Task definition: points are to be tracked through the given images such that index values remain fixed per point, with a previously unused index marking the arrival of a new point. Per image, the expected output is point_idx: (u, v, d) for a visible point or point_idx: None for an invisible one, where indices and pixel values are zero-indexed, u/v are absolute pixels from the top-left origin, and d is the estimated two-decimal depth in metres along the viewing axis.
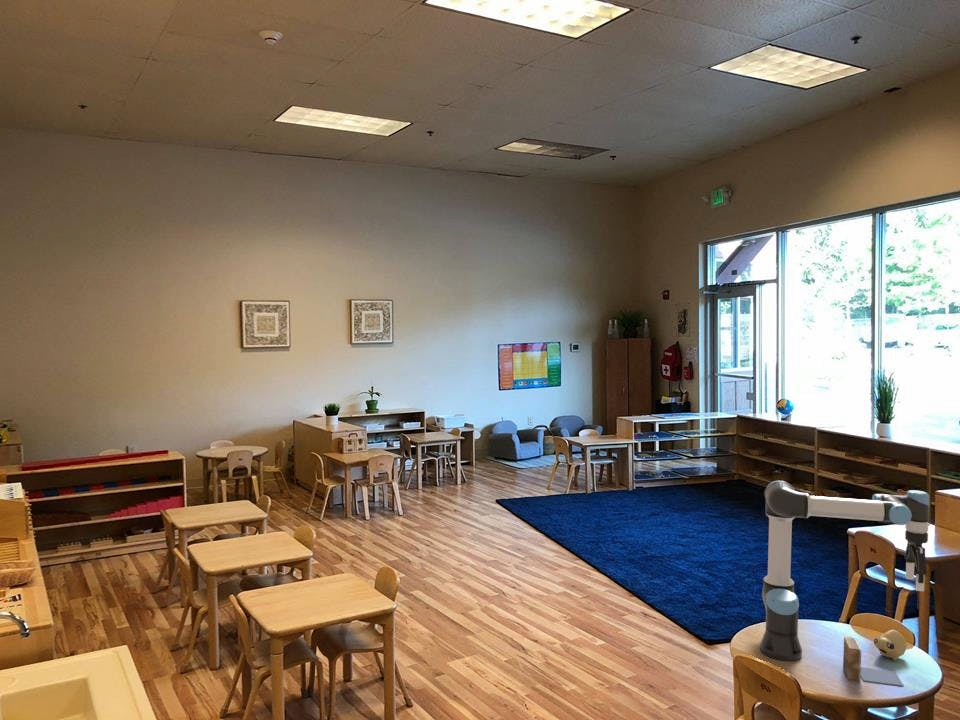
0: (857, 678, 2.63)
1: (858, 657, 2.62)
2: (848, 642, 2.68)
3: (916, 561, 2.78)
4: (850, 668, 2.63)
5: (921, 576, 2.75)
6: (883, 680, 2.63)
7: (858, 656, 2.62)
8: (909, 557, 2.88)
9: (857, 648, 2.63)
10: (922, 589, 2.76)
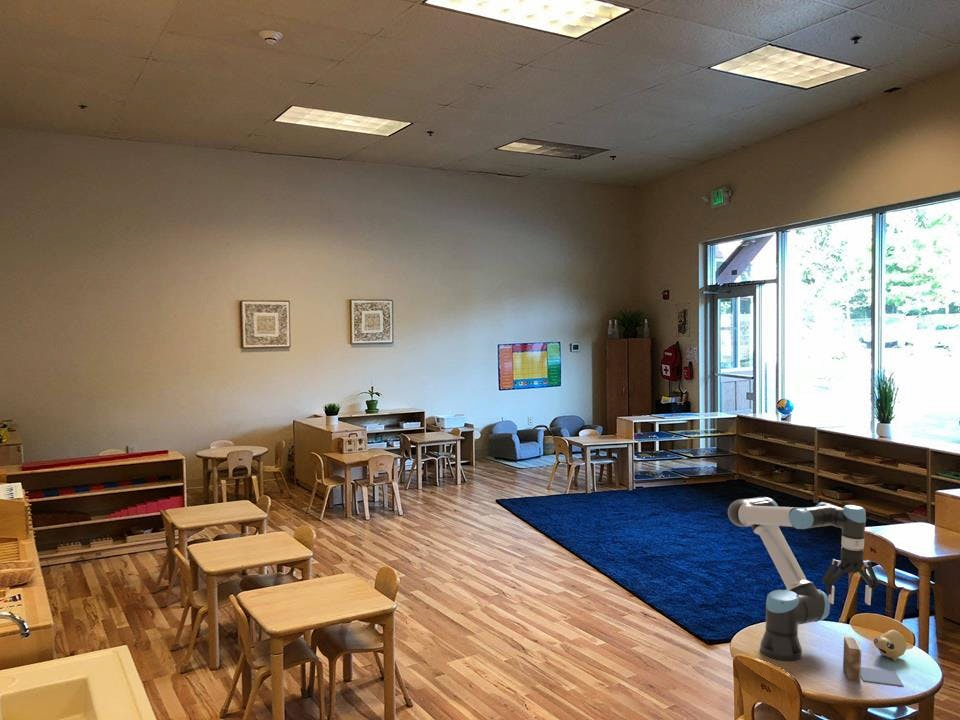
0: (857, 678, 2.63)
1: (858, 657, 2.62)
2: (848, 642, 2.68)
3: None
4: (850, 668, 2.63)
5: (827, 586, 2.72)
6: (883, 680, 2.63)
7: (858, 656, 2.62)
8: (864, 579, 2.72)
9: (857, 648, 2.63)
10: (830, 601, 2.71)
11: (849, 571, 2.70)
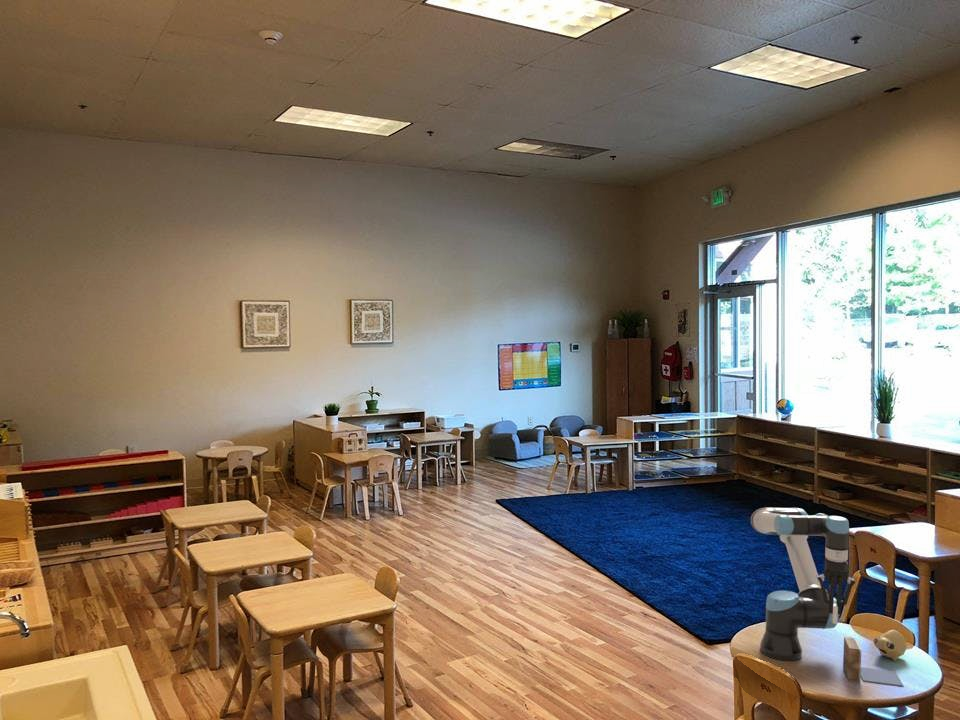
0: (857, 678, 2.63)
1: (858, 657, 2.62)
2: (848, 642, 2.68)
3: (829, 590, 2.70)
4: (850, 668, 2.63)
5: (829, 605, 2.69)
6: (883, 680, 2.63)
7: (858, 656, 2.62)
8: None
9: (857, 648, 2.63)
10: (832, 620, 2.68)
11: None
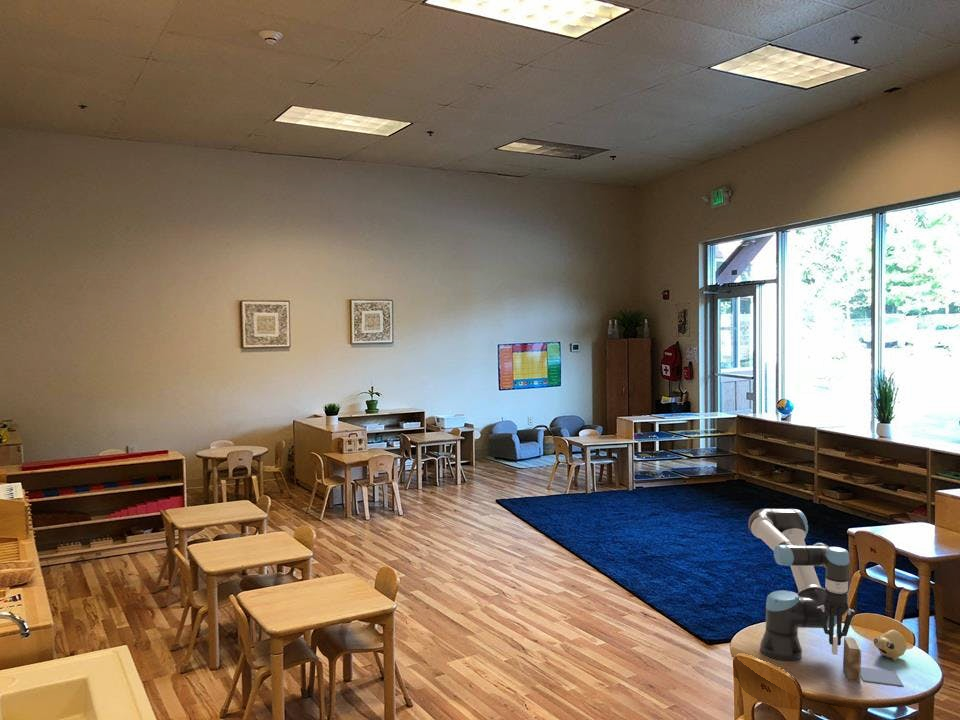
0: (857, 678, 2.63)
1: (858, 657, 2.62)
2: (848, 642, 2.68)
3: (829, 621, 2.70)
4: (850, 668, 2.63)
5: (829, 636, 2.69)
6: (883, 680, 2.63)
7: (858, 656, 2.62)
8: None
9: (857, 648, 2.63)
10: (832, 651, 2.69)
11: None
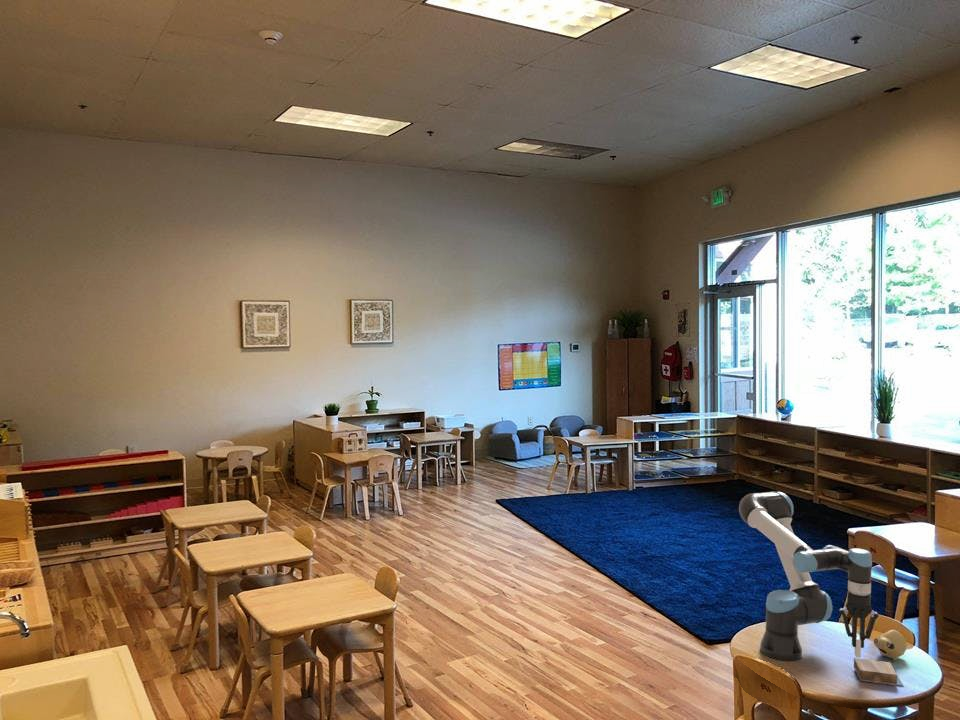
0: (863, 678, 2.62)
1: (887, 681, 2.60)
2: None
3: (852, 623, 2.68)
4: (873, 673, 2.61)
5: (852, 638, 2.67)
6: None
7: (888, 682, 2.60)
8: None
9: None
10: (855, 654, 2.66)
11: None
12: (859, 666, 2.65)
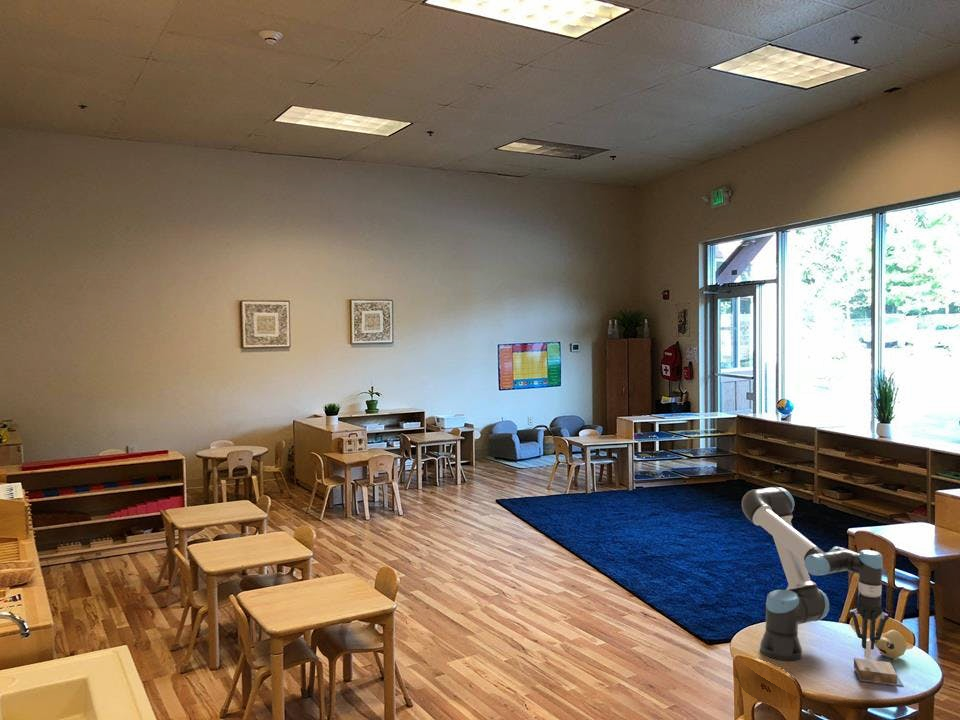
0: (863, 678, 2.62)
1: (887, 681, 2.60)
2: None
3: (862, 624, 2.67)
4: (873, 673, 2.61)
5: (862, 640, 2.66)
6: None
7: (888, 682, 2.60)
8: (870, 629, 2.66)
9: None
10: (865, 656, 2.66)
11: None
12: (859, 666, 2.65)
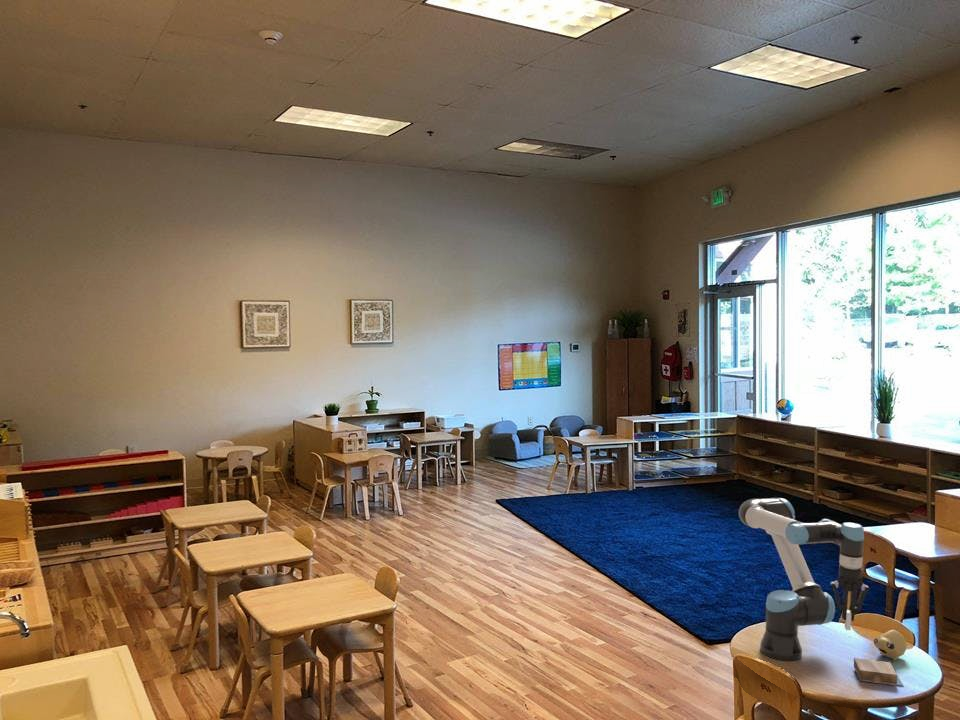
0: (863, 678, 2.62)
1: (887, 681, 2.60)
2: None
3: None
4: (873, 673, 2.61)
5: (842, 611, 2.68)
6: None
7: (888, 682, 2.60)
8: (850, 601, 2.68)
9: None
10: (845, 627, 2.68)
11: None
12: (859, 666, 2.65)
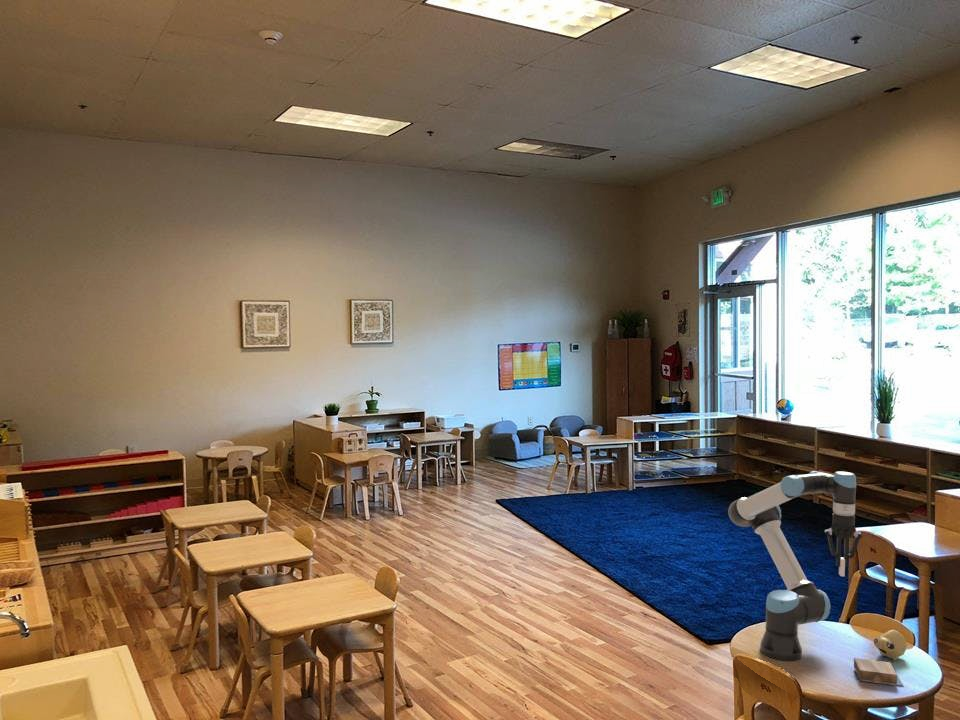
0: (863, 678, 2.62)
1: (887, 681, 2.60)
2: None
3: None
4: (873, 673, 2.61)
5: (836, 558, 2.75)
6: None
7: (888, 682, 2.60)
8: (844, 548, 2.75)
9: None
10: (840, 573, 2.74)
11: None
12: (859, 666, 2.65)
